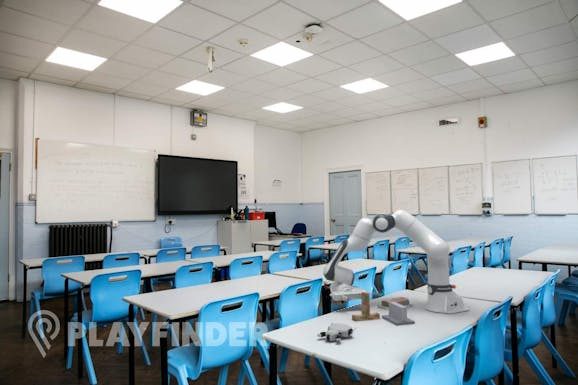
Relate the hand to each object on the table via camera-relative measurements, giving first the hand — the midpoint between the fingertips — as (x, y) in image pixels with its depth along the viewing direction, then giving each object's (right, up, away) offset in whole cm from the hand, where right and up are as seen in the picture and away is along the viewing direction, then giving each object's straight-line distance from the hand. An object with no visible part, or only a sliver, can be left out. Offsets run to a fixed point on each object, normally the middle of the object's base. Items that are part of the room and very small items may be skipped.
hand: (355, 298), depth 209 cm
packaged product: (+25, -9, +13) cm, 29 cm away
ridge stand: (+18, -7, -15) cm, 25 cm away
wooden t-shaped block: (+3, -8, -12) cm, 14 cm away
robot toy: (-15, -7, -39) cm, 43 cm away
